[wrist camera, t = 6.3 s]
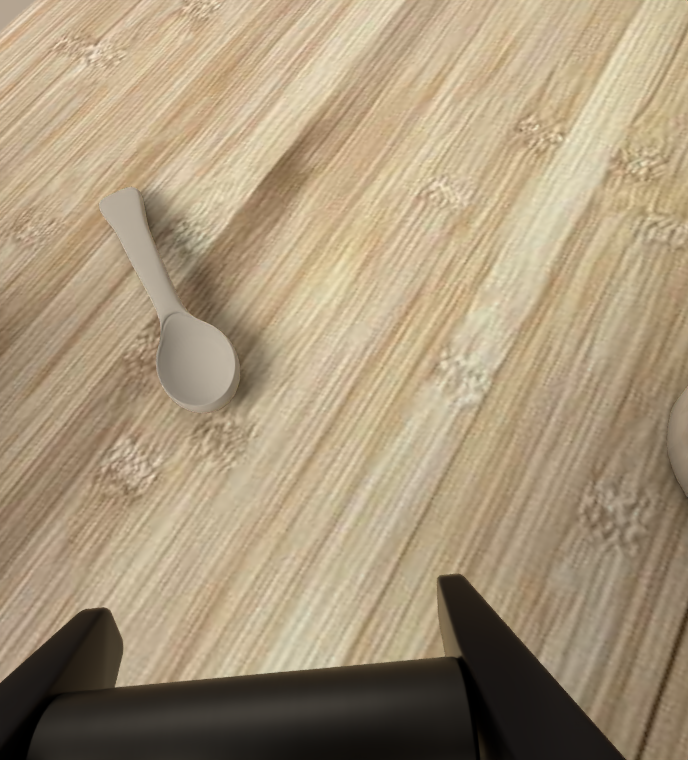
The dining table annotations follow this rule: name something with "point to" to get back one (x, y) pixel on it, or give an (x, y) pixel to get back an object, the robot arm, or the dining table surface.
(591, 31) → the dining table surface
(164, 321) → the spoon
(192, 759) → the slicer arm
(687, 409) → the cupcake
